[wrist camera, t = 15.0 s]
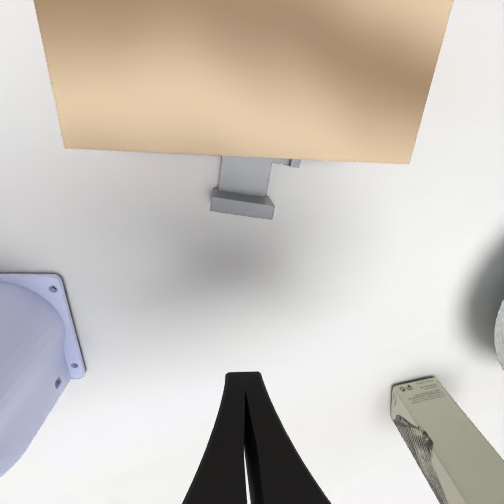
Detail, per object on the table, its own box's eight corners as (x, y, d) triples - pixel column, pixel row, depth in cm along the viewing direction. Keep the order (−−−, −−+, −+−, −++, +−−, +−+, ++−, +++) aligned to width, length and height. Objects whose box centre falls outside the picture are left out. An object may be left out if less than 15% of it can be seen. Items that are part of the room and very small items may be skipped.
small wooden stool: (343, 151, 17) (409, 164, 11) (127, 140, 16) (64, 148, 10) (370, -3, 14) (481, -106, 8) (107, -31, 13) (-4, -179, 7)
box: (390, 383, 27) (518, 584, 15) (435, 374, 27) (599, 568, 15) (389, 418, 29) (500, 617, 17) (431, 410, 29) (570, 603, 17)
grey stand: (283, 210, 19) (302, 238, 14) (193, 197, 18) (181, 221, 13) (323, 30, 15) (368, -17, 10) (210, 2, 14) (202, -64, 9)
